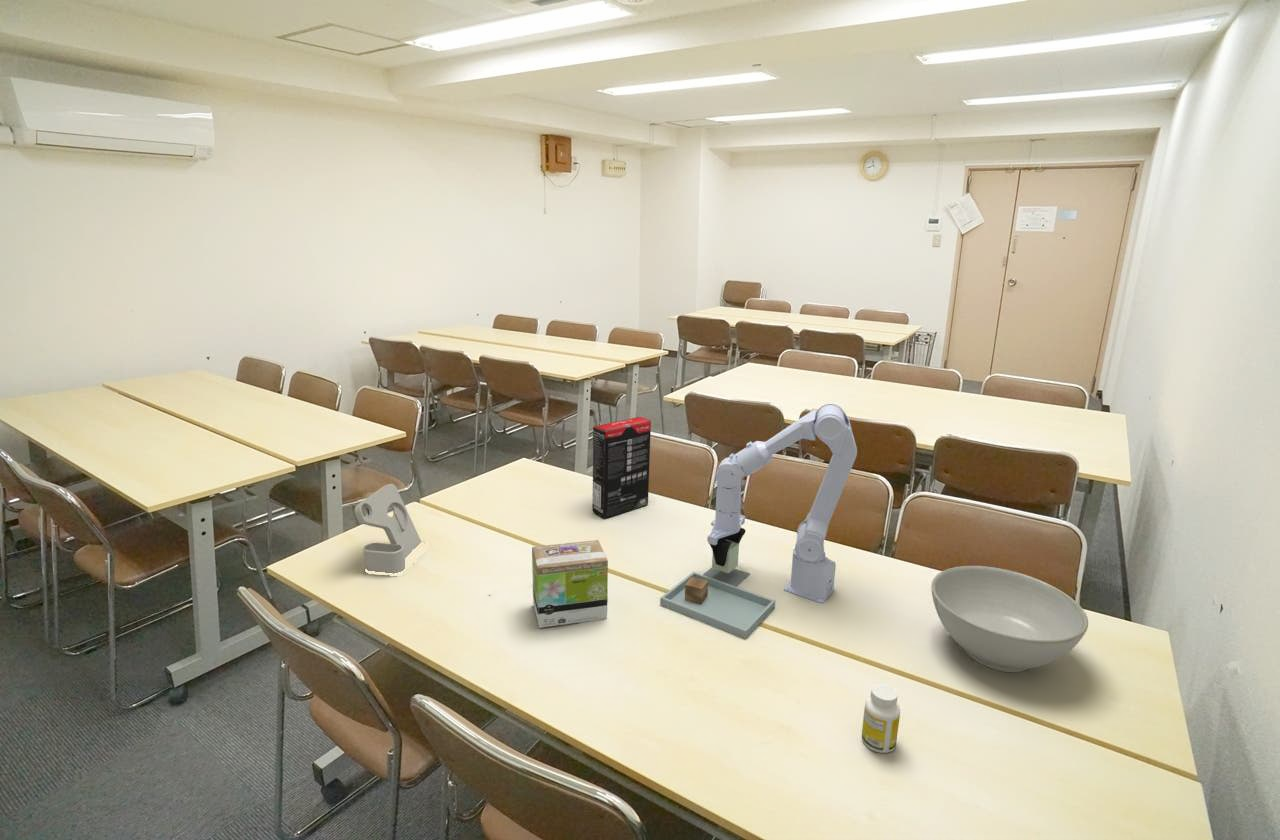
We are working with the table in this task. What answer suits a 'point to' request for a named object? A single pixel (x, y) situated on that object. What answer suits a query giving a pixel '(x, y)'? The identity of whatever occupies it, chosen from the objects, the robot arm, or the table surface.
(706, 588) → the walnut block
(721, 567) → the pale green box
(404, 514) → the phone holder
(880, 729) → the supplement bottle
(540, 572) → the tea box
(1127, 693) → the table surface
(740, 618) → the tray
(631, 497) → the graphics card box
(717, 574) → the mat
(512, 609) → the table surface
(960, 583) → the decorative bowl
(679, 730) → the table surface
